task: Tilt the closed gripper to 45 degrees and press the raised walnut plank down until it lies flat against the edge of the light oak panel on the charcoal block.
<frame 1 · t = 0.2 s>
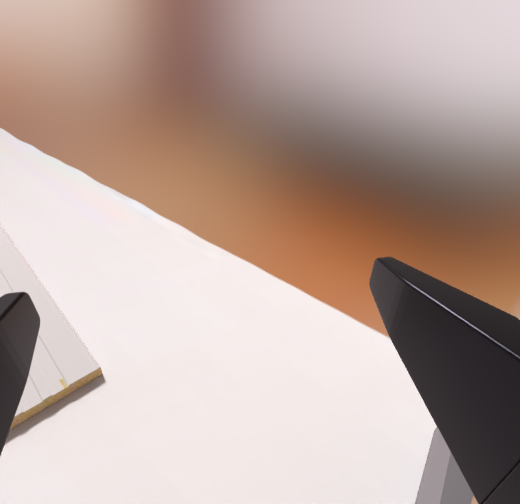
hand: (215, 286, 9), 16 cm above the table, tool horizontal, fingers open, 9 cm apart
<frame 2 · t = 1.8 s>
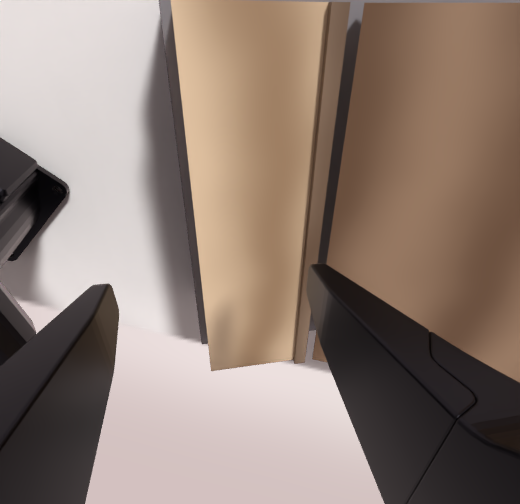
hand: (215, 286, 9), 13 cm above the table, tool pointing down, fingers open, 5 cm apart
oak panel: (238, 176, 21), resting on underlay block
underlay block: (335, 171, 22), on the table
walnut plank: (469, 241, 15), point 9 cm above the table, hinge at -25.0°
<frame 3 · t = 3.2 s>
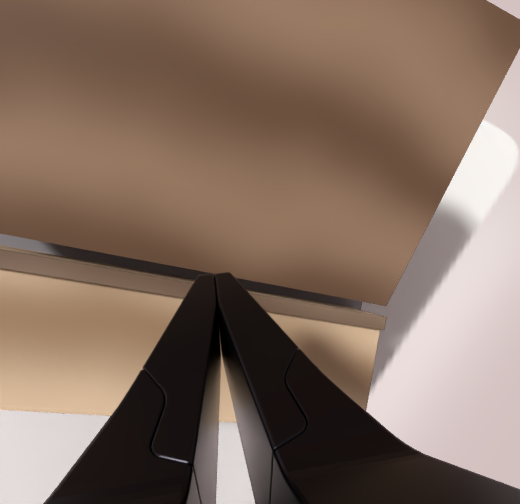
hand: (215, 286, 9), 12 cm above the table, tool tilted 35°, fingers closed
oak panel: (180, 317, 21), resting on underlay block
underlay block: (201, 217, 21), on the table
walnut plank: (251, 119, 13), point 9 cm above the table, hinge at -25.0°
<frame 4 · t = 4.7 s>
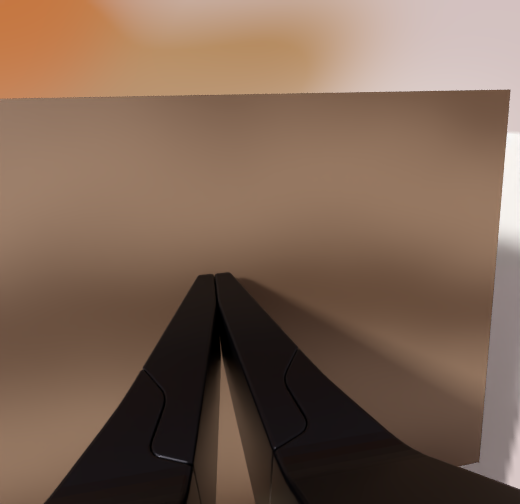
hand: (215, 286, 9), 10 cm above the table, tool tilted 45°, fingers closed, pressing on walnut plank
walnut plank: (216, 312, 11), point 9 cm above the table, hinge at -21.7°, touching gripper
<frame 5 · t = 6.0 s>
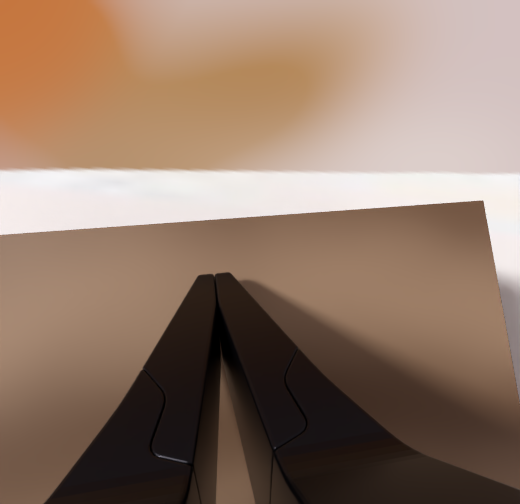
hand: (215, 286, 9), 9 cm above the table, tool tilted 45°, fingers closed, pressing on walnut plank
walnut plank: (227, 430, 10), point 7 cm above the table, hinge at -4.3°, touching gripper
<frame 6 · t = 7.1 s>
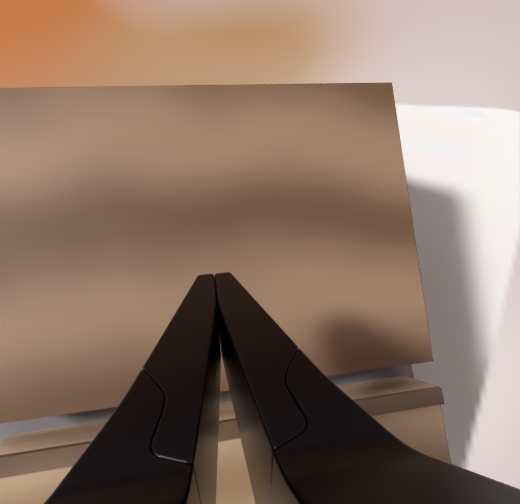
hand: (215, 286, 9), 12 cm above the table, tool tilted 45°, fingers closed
oak panel: (225, 431, 19), resting on underlay block
underlay block: (215, 318, 20), on the table
walnut plank: (209, 236, 14), point 7 cm above the table, hinge at -4.0°
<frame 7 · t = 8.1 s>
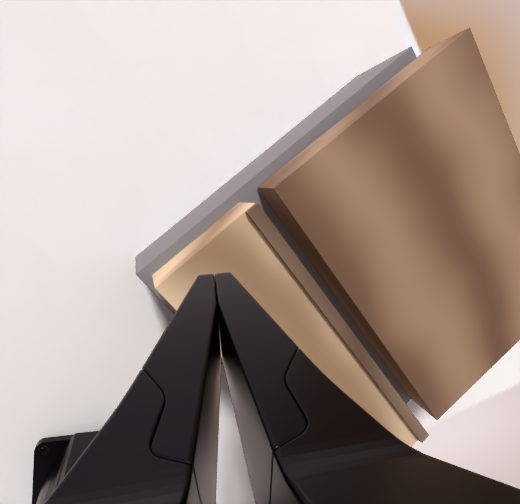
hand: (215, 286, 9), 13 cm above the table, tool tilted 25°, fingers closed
oak panel: (262, 322, 24), resting on underlay block
underlay block: (326, 263, 25), on the table
walnut plank: (433, 243, 19), point 7 cm above the table, hinge at -4.0°
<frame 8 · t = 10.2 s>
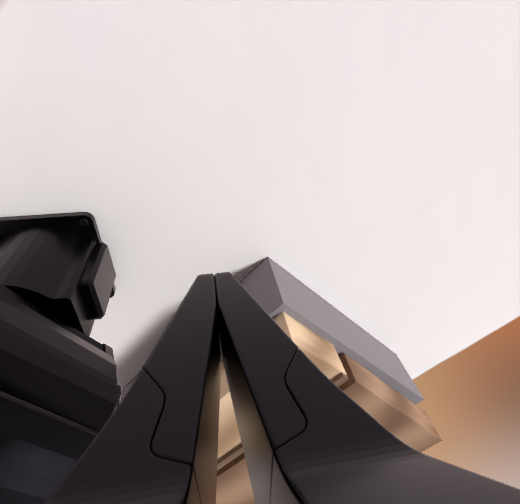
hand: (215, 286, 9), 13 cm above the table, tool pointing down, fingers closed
oak panel: (218, 344, 29), resting on underlay block
underlay block: (268, 370, 32), on the table
walnut plank: (312, 452, 29), point 7 cm above the table, hinge at -4.0°
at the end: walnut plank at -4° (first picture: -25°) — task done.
